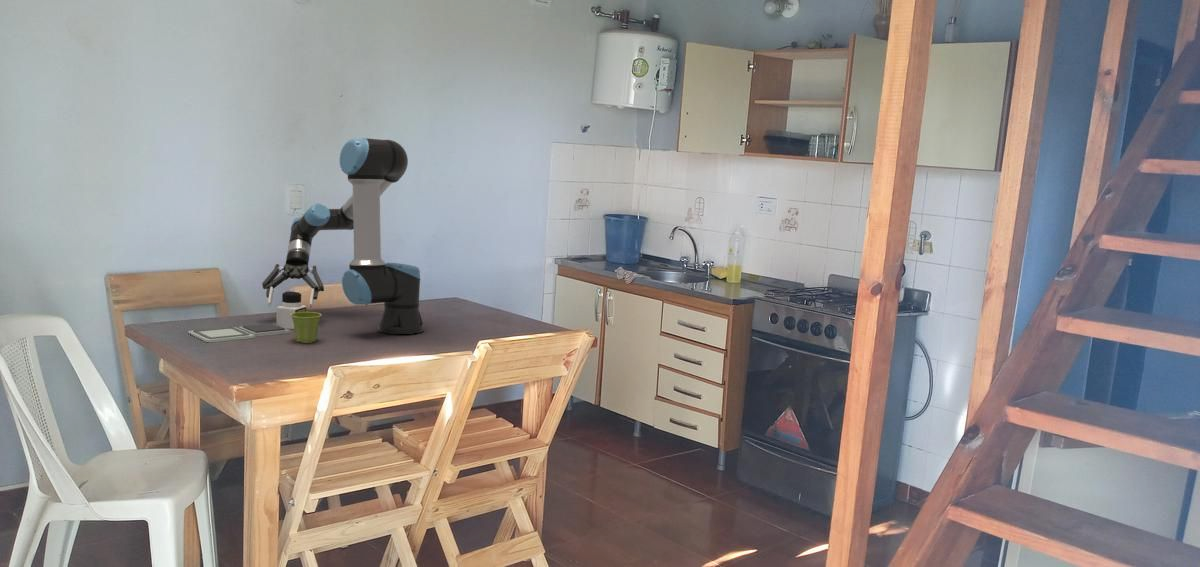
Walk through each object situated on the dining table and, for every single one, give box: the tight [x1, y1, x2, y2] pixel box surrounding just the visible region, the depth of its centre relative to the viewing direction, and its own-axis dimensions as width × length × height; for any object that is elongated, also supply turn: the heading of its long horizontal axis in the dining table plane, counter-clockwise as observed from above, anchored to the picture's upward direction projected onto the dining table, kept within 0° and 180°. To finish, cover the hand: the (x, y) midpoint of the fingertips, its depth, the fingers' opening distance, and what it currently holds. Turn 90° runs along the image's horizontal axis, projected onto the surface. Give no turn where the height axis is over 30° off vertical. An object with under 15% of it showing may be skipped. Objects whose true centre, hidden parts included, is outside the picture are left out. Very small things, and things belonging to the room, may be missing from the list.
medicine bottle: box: [276, 290, 307, 330], centre depth 311 cm, size 7×7×12 cm
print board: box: [187, 326, 256, 343], centre depth 293 cm, size 15×15×1 cm
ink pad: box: [237, 322, 291, 338], centre depth 302 cm, size 12×12×1 cm
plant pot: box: [291, 311, 323, 344], centre depth 292 cm, size 9×9×9 cm
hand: (290, 305), depth 313 cm, fingers open, 13 cm apart
